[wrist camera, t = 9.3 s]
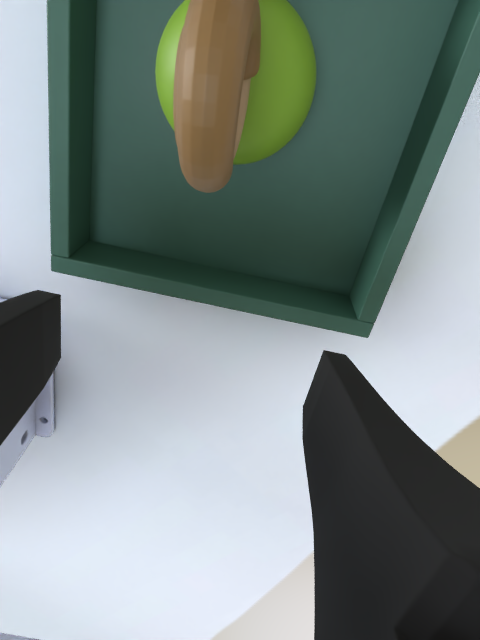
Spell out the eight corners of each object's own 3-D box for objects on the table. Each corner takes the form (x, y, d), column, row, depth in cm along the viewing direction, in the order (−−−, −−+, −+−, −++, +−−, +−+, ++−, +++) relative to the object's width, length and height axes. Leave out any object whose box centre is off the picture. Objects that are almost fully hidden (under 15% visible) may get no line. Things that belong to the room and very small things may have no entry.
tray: (357, 308, 22) (368, 338, 20) (77, 248, 22) (50, 271, 19) (542, -170, 14) (607, -228, 11) (85, -293, 13) (38, -387, 10)
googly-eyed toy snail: (326, -31, 15) (448, -272, 5) (297, 159, 18) (333, 263, 8) (174, -47, 15) (-33, -319, 5) (172, 145, 18) (43, 232, 8)
